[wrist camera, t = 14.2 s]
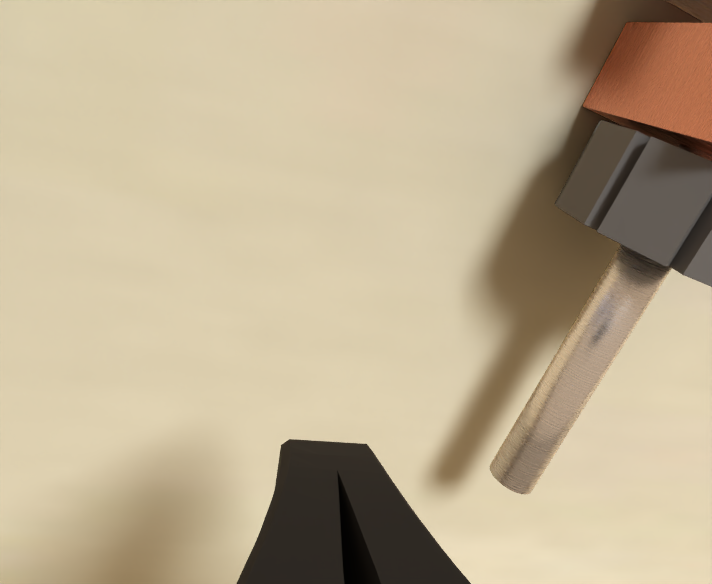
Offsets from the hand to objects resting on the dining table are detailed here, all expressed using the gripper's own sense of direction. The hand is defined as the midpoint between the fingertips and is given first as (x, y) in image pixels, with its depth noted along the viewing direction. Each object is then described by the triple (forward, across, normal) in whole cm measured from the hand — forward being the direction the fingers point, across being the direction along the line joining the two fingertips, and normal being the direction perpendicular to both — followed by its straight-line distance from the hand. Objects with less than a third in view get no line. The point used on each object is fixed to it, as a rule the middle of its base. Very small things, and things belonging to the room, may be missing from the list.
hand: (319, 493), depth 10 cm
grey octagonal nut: (+10, -9, -4) cm, 14 cm away
